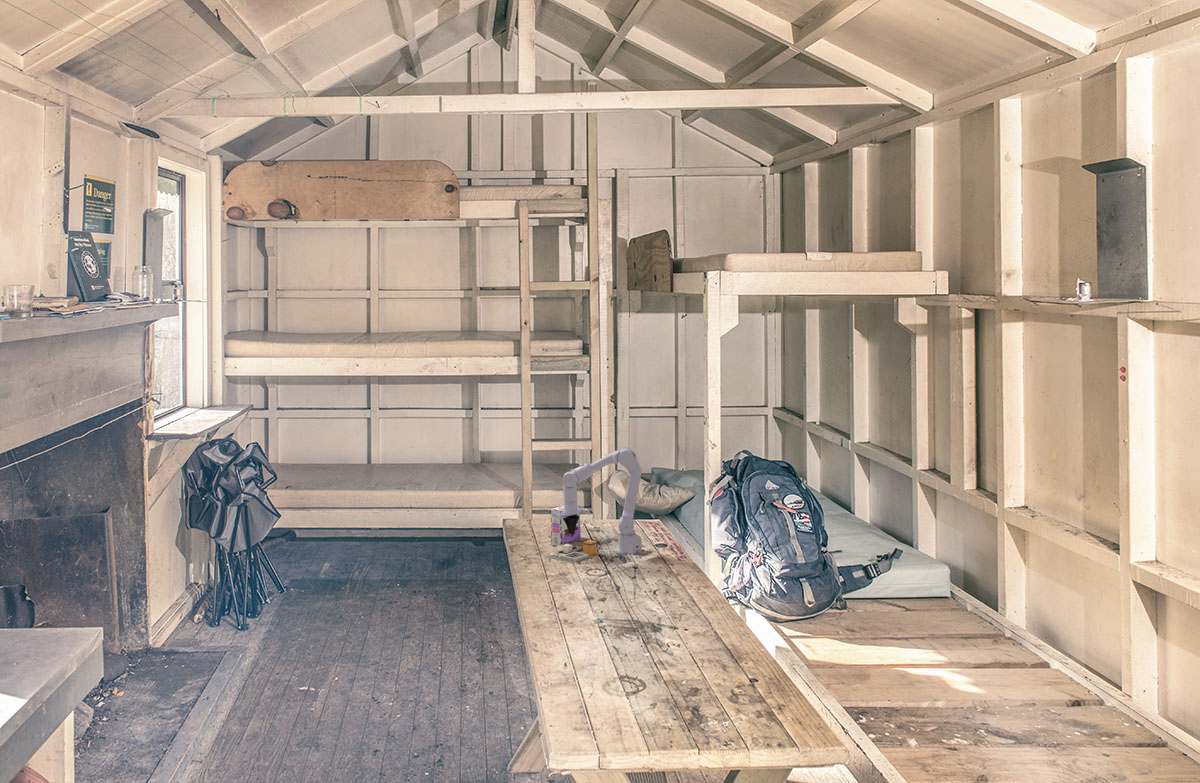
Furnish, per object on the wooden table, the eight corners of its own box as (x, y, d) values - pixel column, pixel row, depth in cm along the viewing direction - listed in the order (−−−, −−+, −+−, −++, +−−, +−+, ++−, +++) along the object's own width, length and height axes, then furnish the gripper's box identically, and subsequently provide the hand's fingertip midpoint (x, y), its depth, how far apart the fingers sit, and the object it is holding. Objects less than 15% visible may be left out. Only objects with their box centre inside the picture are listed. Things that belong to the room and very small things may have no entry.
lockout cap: (597, 553, 386) (596, 541, 385) (590, 555, 383) (590, 543, 382) (589, 551, 389) (589, 539, 388) (583, 553, 385) (582, 542, 385)
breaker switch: (572, 552, 388) (572, 545, 387) (568, 553, 386) (568, 546, 386) (566, 550, 390) (566, 543, 390) (562, 552, 388) (562, 545, 388)
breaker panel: (602, 556, 386) (602, 550, 386) (572, 566, 372) (572, 560, 372) (575, 550, 396) (574, 544, 396) (545, 560, 383) (544, 554, 382)
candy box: (561, 547, 402) (560, 510, 400) (551, 546, 405) (549, 508, 404) (581, 540, 413) (580, 504, 411) (570, 539, 416) (569, 502, 415)
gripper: (576, 496, 395) (577, 528, 397) (551, 502, 385) (552, 535, 386) (587, 498, 391) (589, 530, 392) (562, 505, 380) (564, 537, 381)
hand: (571, 533), depth 389 cm, fingers closed
